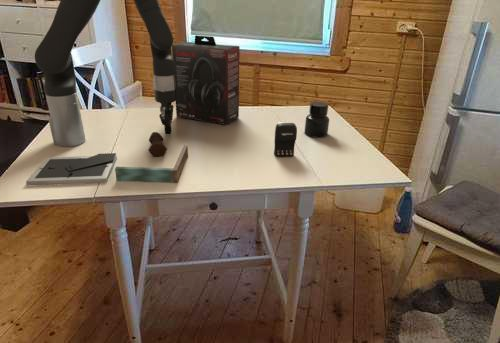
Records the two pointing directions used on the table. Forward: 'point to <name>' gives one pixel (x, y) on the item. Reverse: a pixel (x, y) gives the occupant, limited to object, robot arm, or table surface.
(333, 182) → the table surface
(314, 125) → the ink bottle
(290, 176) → the table surface
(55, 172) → the picture frame
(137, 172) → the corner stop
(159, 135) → the bolt
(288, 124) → the battery charger
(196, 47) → the headset box
